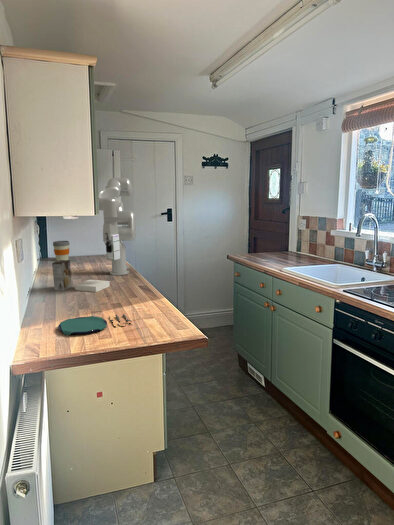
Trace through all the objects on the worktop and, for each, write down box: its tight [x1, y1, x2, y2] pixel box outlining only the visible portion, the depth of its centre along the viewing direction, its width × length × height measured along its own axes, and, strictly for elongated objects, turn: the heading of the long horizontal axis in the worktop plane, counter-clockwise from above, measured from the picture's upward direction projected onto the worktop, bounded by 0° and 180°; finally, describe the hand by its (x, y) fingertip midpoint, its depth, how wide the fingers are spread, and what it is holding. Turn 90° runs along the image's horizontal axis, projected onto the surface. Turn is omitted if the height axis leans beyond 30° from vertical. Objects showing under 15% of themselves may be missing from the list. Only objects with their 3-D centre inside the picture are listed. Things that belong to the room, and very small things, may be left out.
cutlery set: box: [57, 313, 132, 336], centre depth 175 cm, size 20×30×2 cm, turn 113°
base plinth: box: [74, 279, 110, 293], centre depth 240 cm, size 14×14×3 cm
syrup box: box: [106, 234, 120, 261], centre depth 239 cm, size 6×6×14 cm
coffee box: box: [51, 259, 73, 291], centre depth 239 cm, size 9×6×16 cm
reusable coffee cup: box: [52, 240, 70, 262], centre depth 330 cm, size 13×13×15 cm
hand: (112, 250), depth 240 cm, fingers closed on syrup box, 6 cm apart
